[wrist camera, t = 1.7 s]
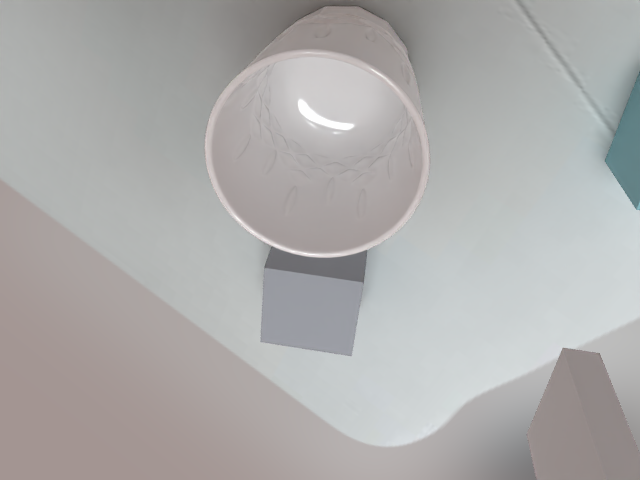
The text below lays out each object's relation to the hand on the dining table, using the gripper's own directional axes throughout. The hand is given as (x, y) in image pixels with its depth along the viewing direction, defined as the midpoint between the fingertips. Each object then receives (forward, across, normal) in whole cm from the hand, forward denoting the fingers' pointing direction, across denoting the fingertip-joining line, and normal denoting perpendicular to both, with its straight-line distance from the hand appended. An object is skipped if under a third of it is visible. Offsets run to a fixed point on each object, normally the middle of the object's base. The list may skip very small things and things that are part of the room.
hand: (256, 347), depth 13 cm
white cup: (+19, 0, 0) cm, 19 cm away
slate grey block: (+19, 0, -10) cm, 22 cm away
